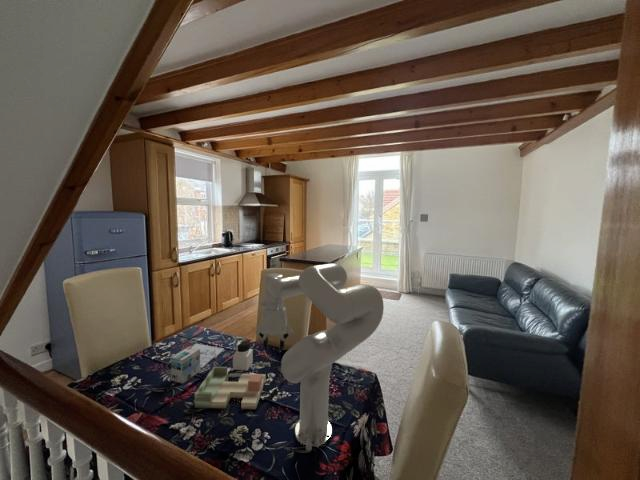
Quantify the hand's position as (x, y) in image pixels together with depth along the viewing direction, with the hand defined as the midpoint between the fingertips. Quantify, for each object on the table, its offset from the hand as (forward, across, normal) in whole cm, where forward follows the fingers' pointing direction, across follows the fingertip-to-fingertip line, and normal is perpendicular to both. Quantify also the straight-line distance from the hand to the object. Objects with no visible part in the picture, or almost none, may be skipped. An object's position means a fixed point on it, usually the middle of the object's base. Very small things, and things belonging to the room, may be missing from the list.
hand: (273, 348), depth 107 cm
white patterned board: (+20, -43, +27) cm, 55 cm away
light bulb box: (+20, -41, +10) cm, 47 cm away
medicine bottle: (+20, -18, +19) cm, 33 cm away
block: (+17, -8, 0) cm, 19 cm away
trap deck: (+19, -16, 0) cm, 26 cm away
